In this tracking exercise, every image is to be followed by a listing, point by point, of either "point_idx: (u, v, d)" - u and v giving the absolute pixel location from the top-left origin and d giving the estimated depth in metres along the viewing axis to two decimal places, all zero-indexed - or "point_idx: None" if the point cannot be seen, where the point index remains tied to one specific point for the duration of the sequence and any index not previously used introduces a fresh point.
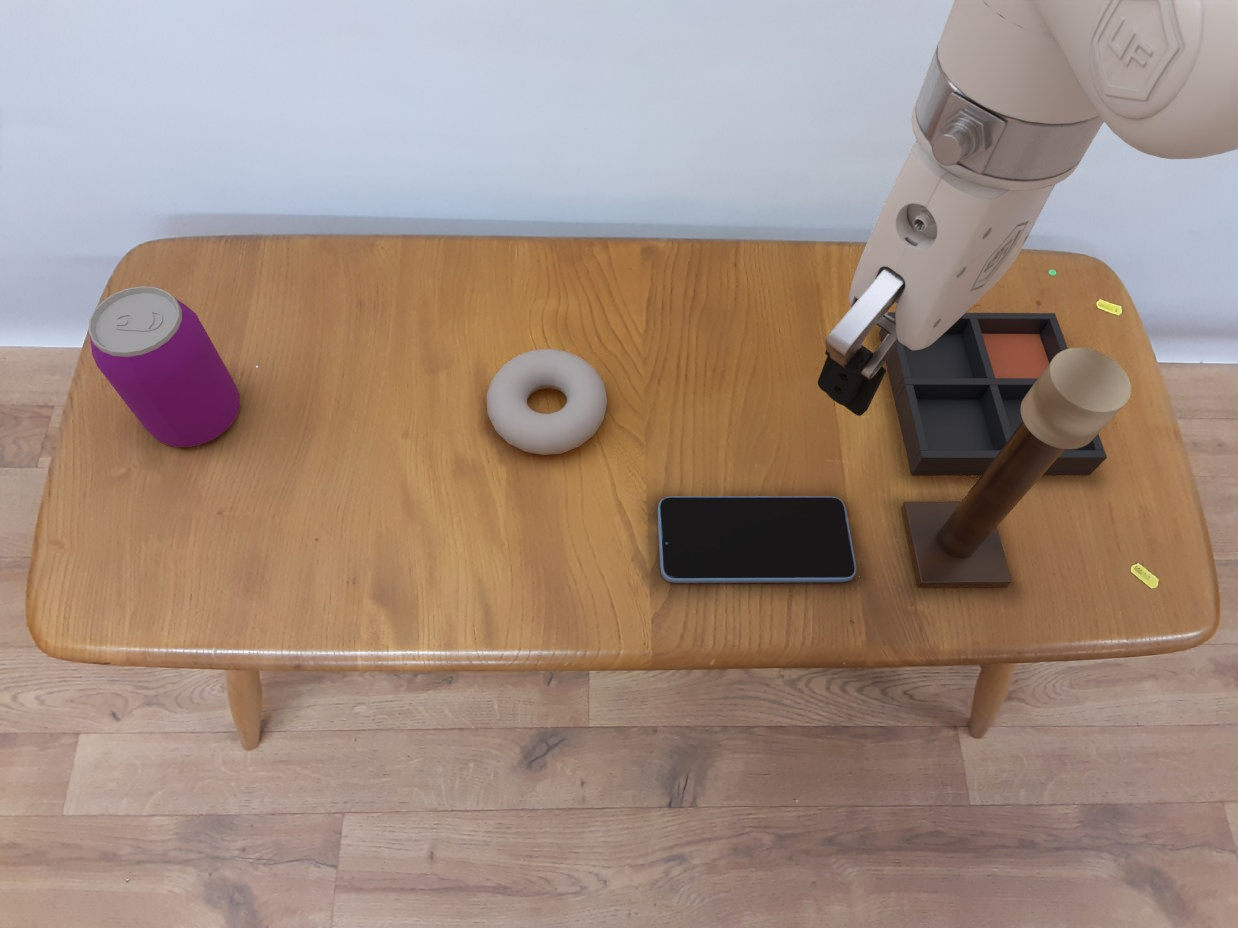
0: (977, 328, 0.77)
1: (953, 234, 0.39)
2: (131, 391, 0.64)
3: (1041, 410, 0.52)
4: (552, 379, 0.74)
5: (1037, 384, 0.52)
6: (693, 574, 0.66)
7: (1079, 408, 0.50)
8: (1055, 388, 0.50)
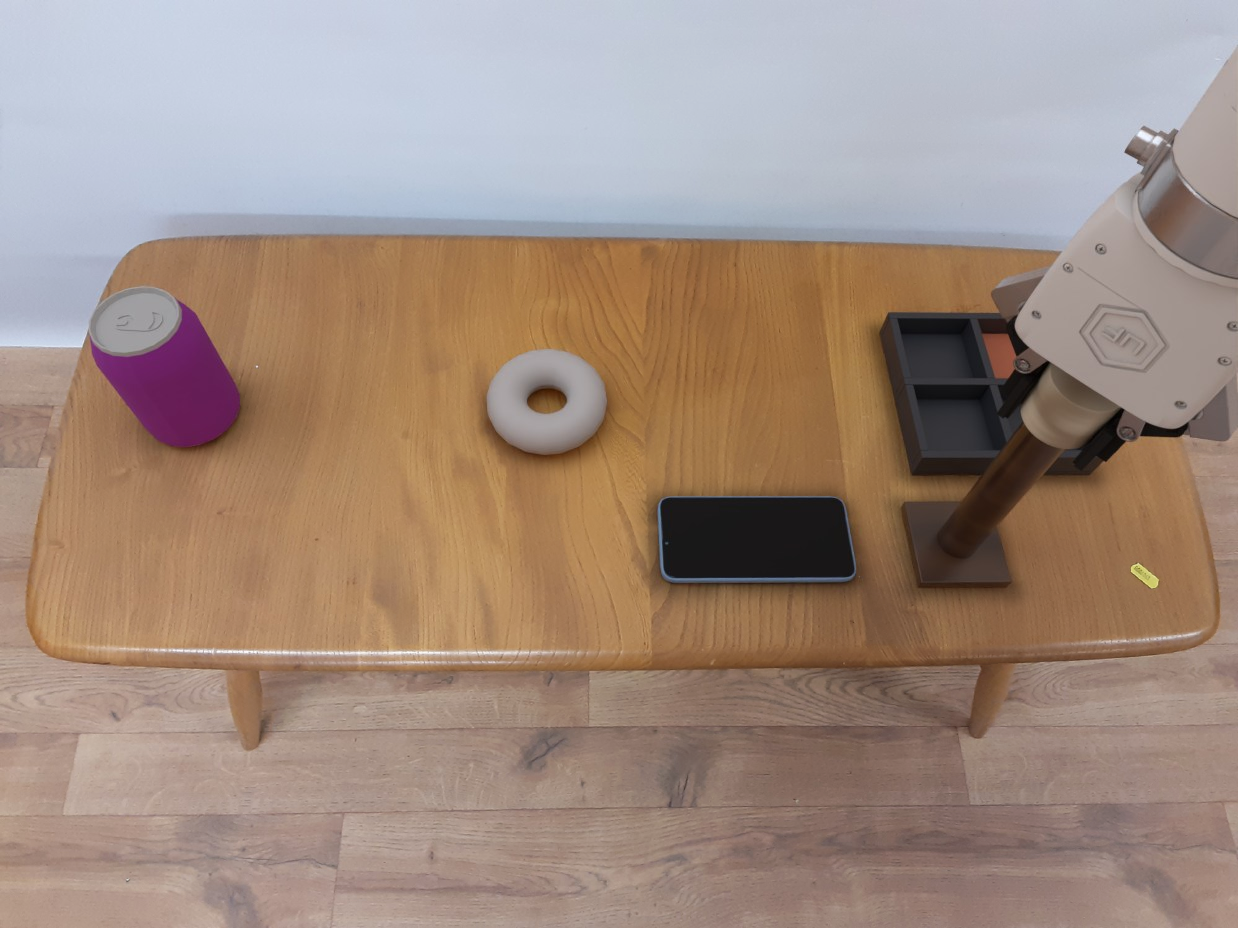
0: (977, 328, 0.77)
1: (1087, 223, 0.43)
2: (131, 391, 0.64)
3: (1041, 410, 0.52)
4: (552, 379, 0.74)
5: (1037, 384, 0.52)
6: (693, 574, 0.66)
7: (1079, 408, 0.50)
8: (1055, 388, 0.50)
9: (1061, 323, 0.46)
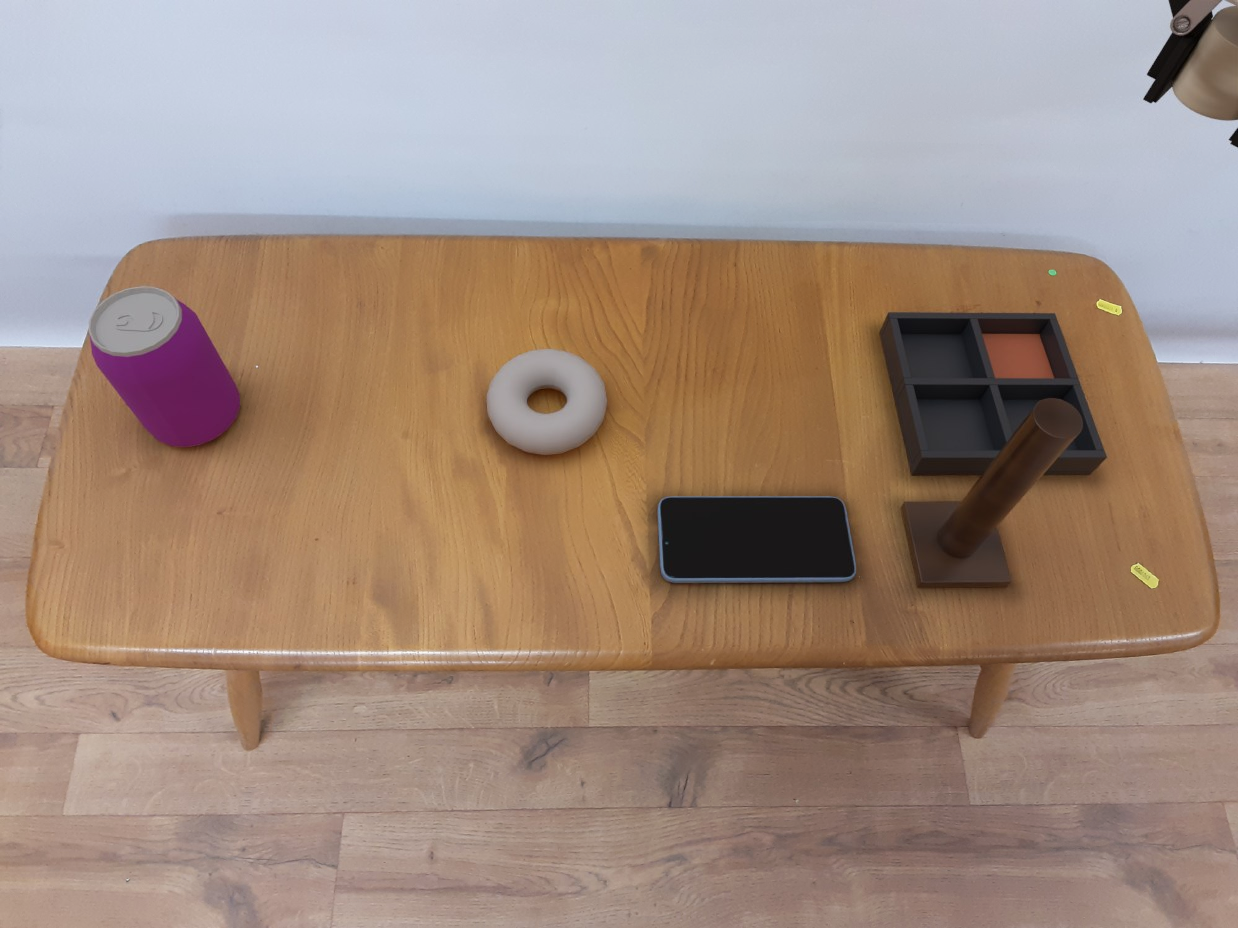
0: (977, 328, 0.77)
1: None
2: (131, 391, 0.64)
3: (1201, 73, 0.49)
4: (552, 379, 0.74)
5: (1196, 48, 0.49)
6: (693, 574, 0.66)
7: None
8: (1222, 38, 0.47)
9: None
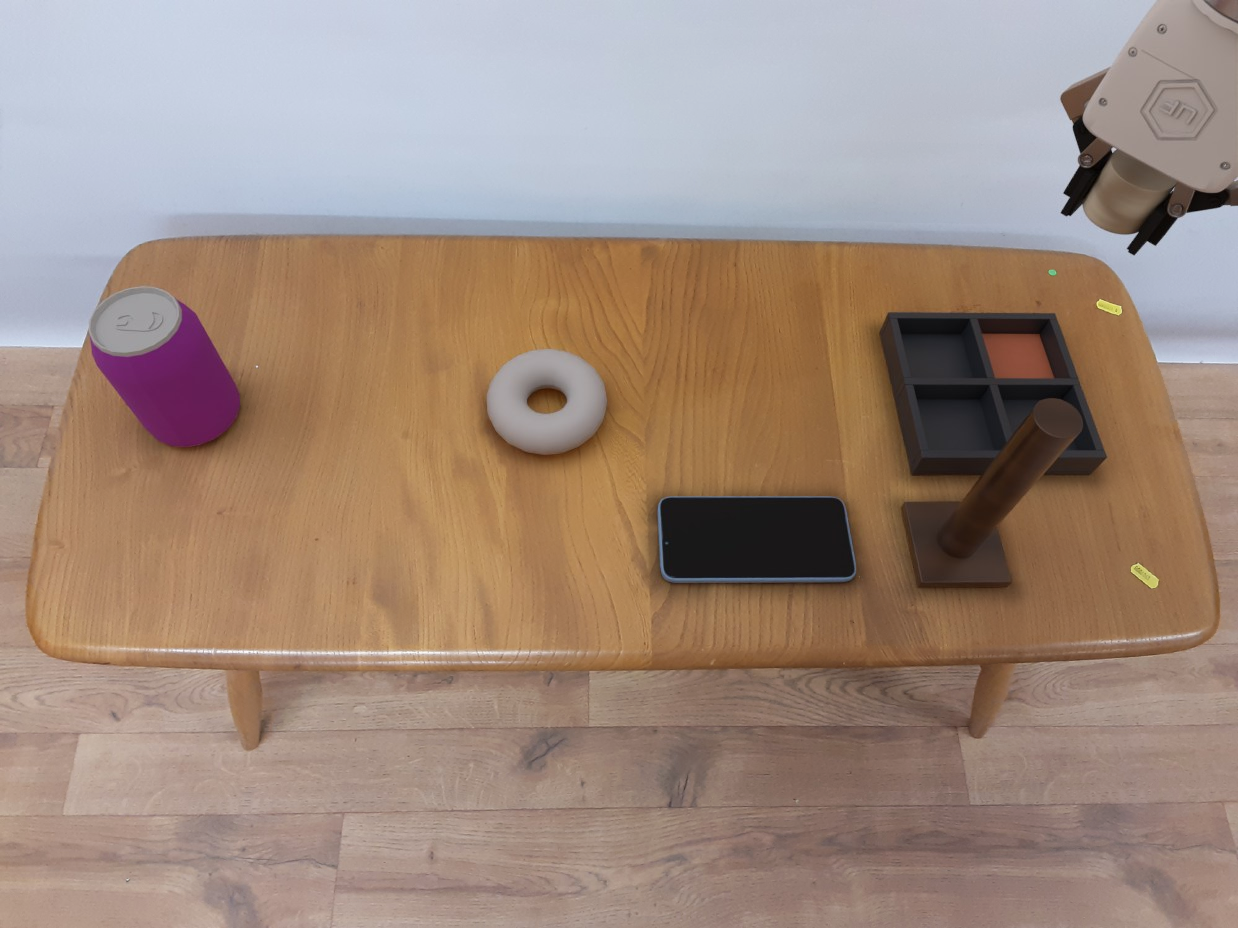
0: (977, 328, 0.77)
1: (1150, 10, 0.53)
2: (131, 391, 0.64)
3: (1102, 198, 0.61)
4: (552, 379, 0.74)
5: (1098, 177, 0.62)
6: (693, 574, 0.66)
7: (1136, 188, 0.59)
8: (1115, 174, 0.60)
9: (1124, 106, 0.56)
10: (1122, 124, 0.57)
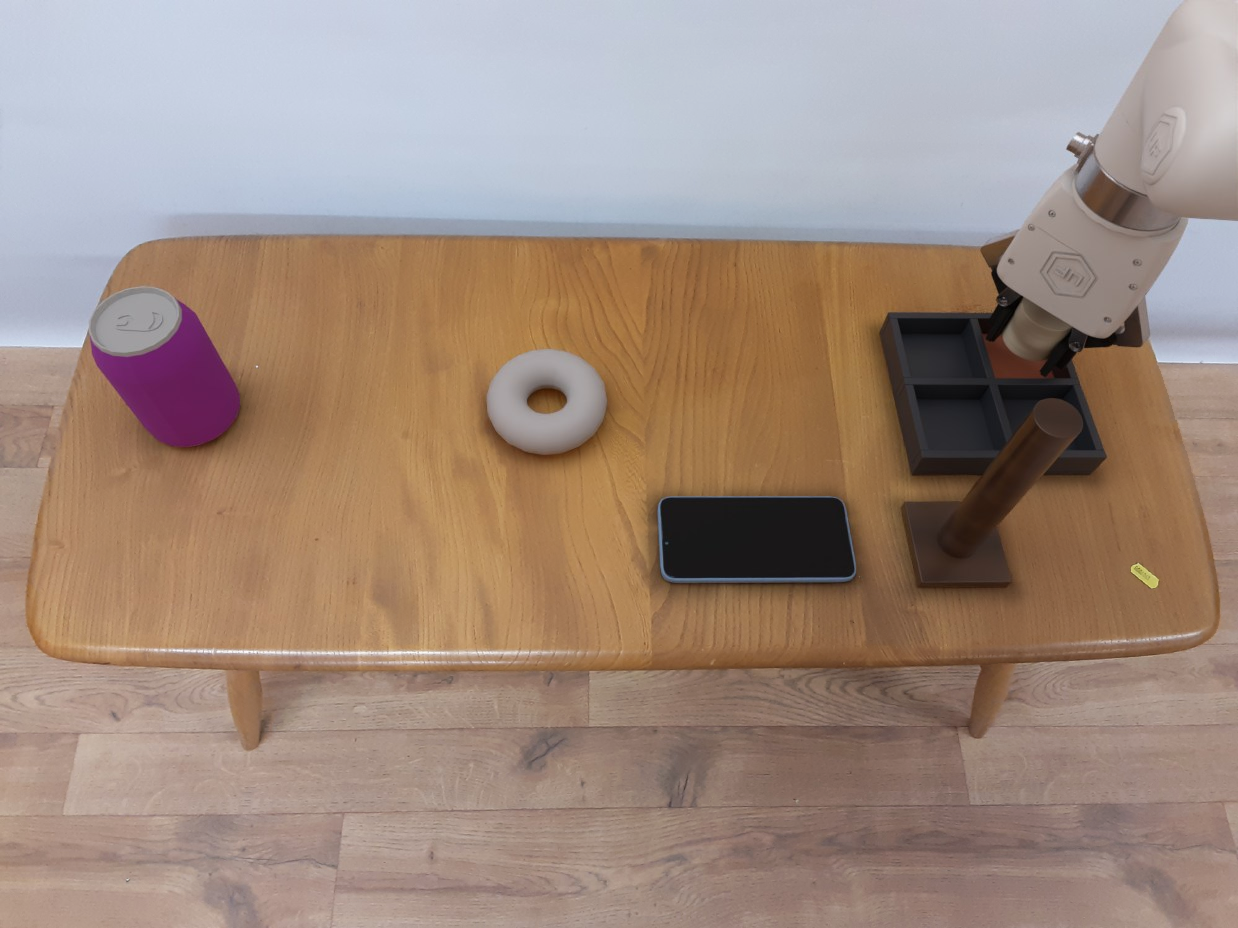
0: (977, 328, 0.77)
1: (1043, 197, 0.65)
2: (131, 391, 0.64)
3: (1016, 332, 0.73)
4: (552, 379, 0.74)
5: (1013, 314, 0.74)
6: (693, 574, 0.66)
7: (1042, 328, 0.71)
8: (1025, 315, 0.72)
9: (1028, 266, 0.68)
10: (1027, 280, 0.69)
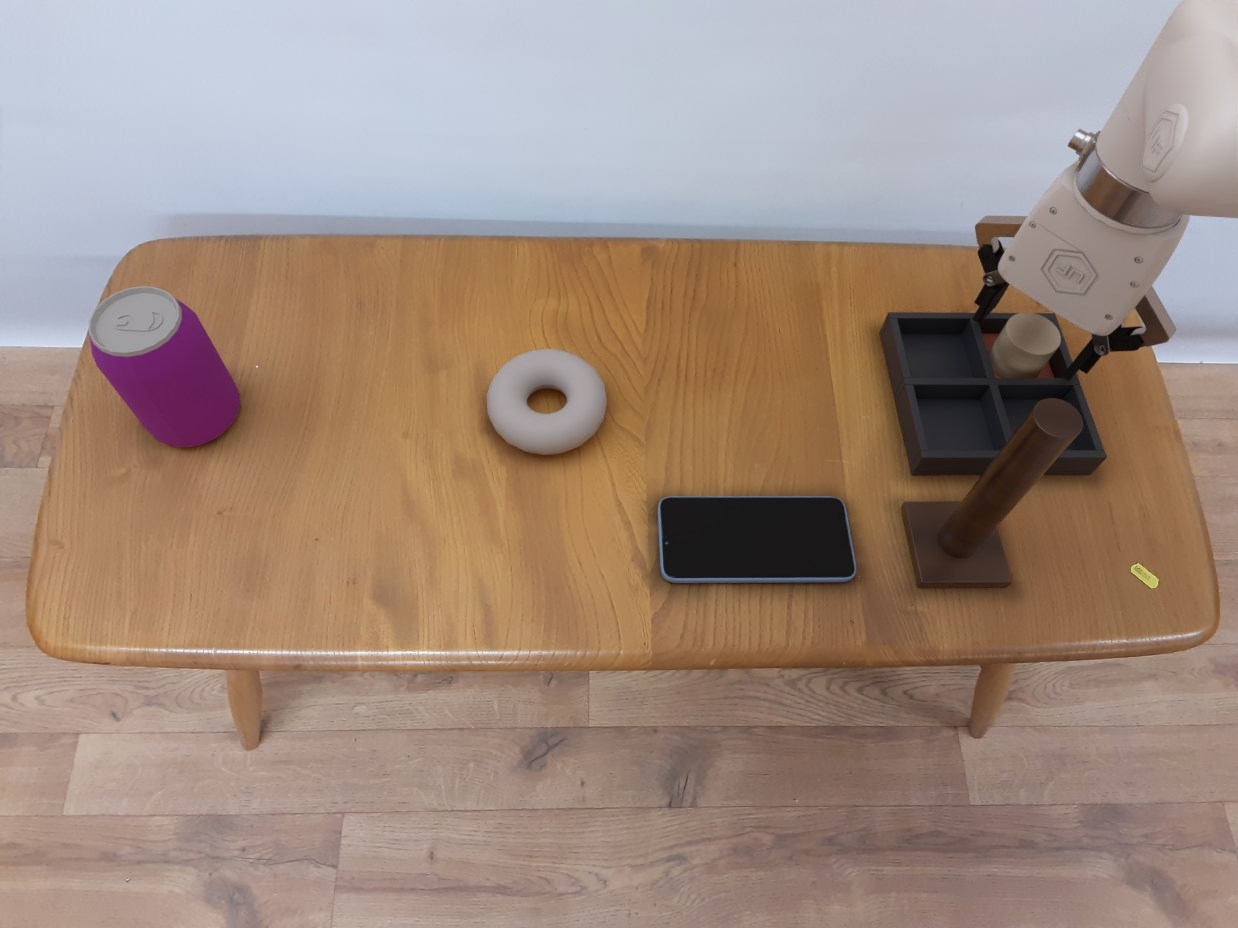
0: (977, 328, 0.77)
1: (1044, 194, 0.65)
2: (131, 391, 0.64)
3: (1001, 355, 0.76)
4: (552, 379, 0.74)
5: (998, 337, 0.76)
6: (693, 574, 0.66)
7: (1025, 352, 0.74)
8: (1009, 339, 0.74)
9: (1029, 264, 0.68)
10: (1028, 277, 0.69)
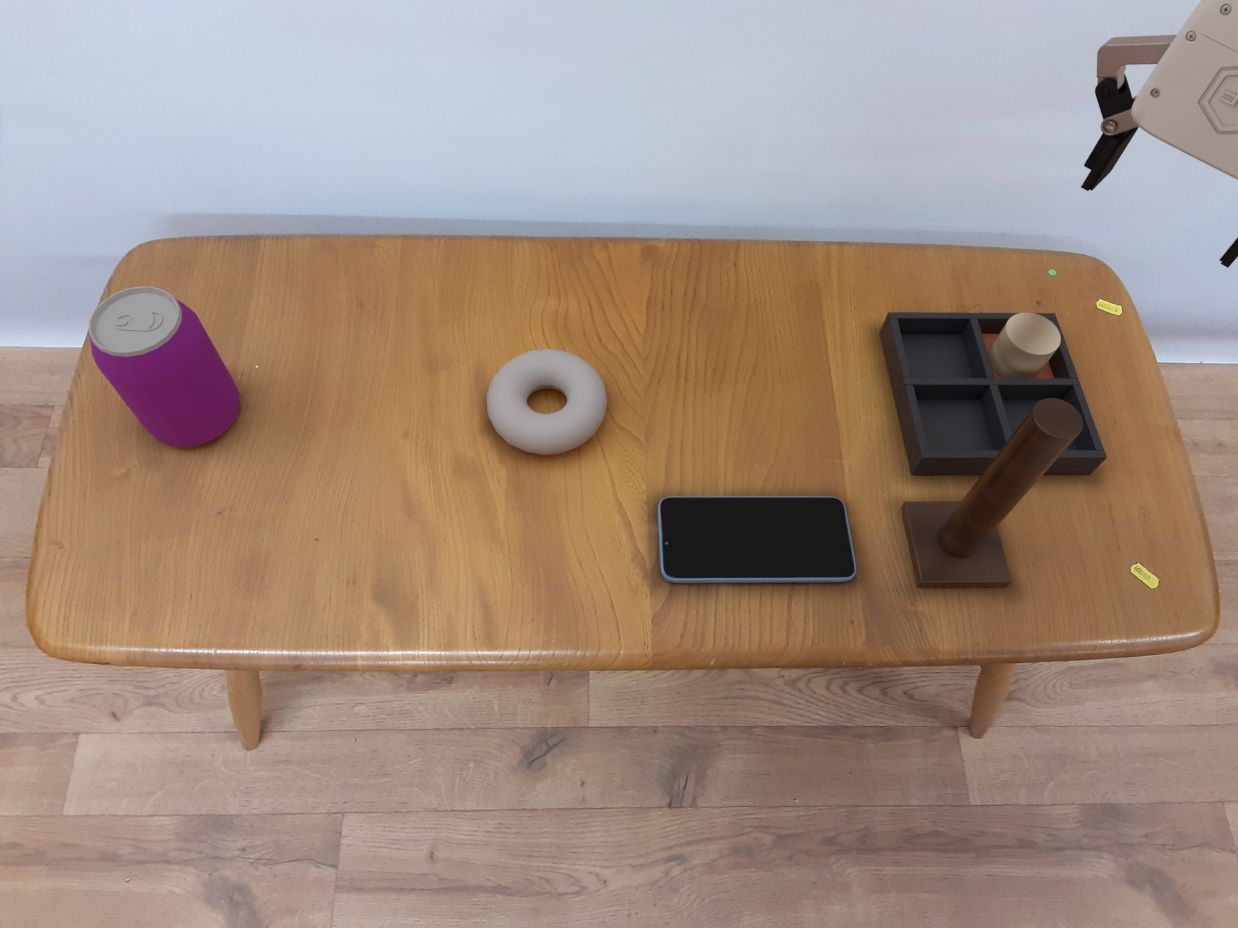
0: (977, 328, 0.77)
1: None
2: (131, 391, 0.64)
3: (1001, 355, 0.76)
4: (552, 379, 0.74)
5: (998, 337, 0.77)
6: (693, 574, 0.66)
7: (1025, 352, 0.74)
8: (1009, 339, 0.74)
9: (1180, 96, 0.51)
10: (1176, 117, 0.51)
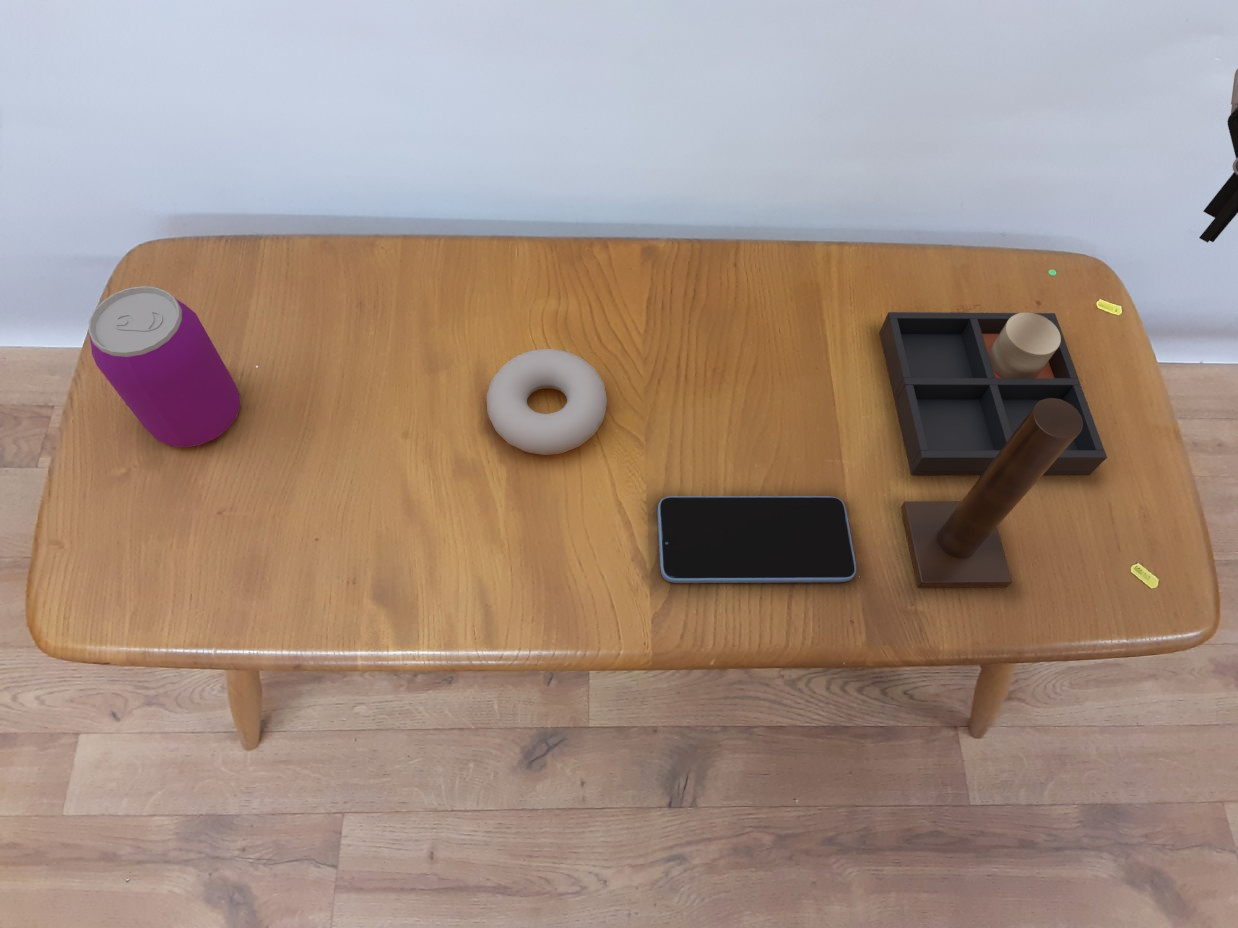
0: (977, 328, 0.77)
1: None
2: (131, 391, 0.64)
3: (1001, 355, 0.76)
4: (552, 379, 0.74)
5: (998, 337, 0.77)
6: (693, 574, 0.66)
7: (1025, 352, 0.74)
8: (1009, 339, 0.74)
9: None
10: None
